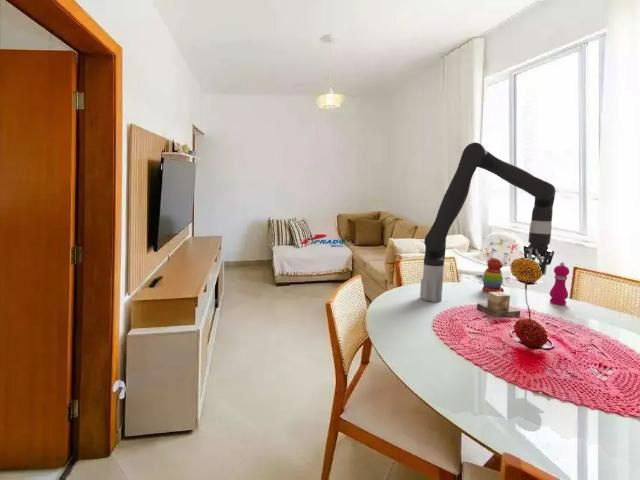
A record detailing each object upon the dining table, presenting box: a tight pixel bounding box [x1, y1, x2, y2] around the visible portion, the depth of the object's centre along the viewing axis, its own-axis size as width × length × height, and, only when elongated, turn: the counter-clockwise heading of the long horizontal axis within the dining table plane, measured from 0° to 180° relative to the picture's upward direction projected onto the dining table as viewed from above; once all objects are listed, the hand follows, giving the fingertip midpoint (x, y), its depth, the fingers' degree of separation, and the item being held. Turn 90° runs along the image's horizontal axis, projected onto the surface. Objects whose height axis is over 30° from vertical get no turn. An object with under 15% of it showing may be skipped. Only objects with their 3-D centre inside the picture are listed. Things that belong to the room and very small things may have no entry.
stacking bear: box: [482, 257, 504, 293], centre depth 184 cm, size 11×10×18 cm
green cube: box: [535, 260, 548, 276], centre depth 144 cm, size 5×5×5 cm
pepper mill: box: [549, 261, 570, 306], centre depth 164 cm, size 7×7×20 cm
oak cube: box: [487, 291, 511, 310], centre depth 152 cm, size 6×6×6 cm
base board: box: [476, 302, 521, 318], centre depth 153 cm, size 12×12×2 cm
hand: (535, 272), depth 144 cm, fingers closed on green cube, 5 cm apart
